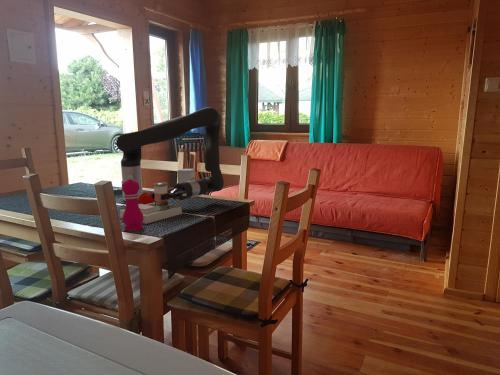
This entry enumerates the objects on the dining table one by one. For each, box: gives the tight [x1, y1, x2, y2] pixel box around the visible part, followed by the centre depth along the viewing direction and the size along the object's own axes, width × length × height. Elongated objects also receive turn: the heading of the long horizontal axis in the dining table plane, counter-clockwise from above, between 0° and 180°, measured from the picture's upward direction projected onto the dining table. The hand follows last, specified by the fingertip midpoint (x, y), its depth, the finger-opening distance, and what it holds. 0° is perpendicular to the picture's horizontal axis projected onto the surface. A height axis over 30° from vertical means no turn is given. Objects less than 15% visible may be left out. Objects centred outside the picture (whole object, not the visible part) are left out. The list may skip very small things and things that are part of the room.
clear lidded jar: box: [153, 181, 170, 212], centre depth 151 cm, size 6×6×12 cm
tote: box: [119, 202, 183, 225], centre depth 150 cm, size 16×18×4 cm
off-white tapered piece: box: [138, 204, 157, 215], centre depth 146 cm, size 10×6×5 cm, turn 53°
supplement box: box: [177, 168, 196, 183], centre depth 203 cm, size 7×7×13 cm
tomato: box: [138, 191, 155, 205], centre depth 170 cm, size 10×11×6 cm
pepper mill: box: [121, 176, 144, 232], centre depth 131 cm, size 7×7×20 cm
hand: (156, 196), depth 149 cm, fingers closed on clear lidded jar, 5 cm apart
